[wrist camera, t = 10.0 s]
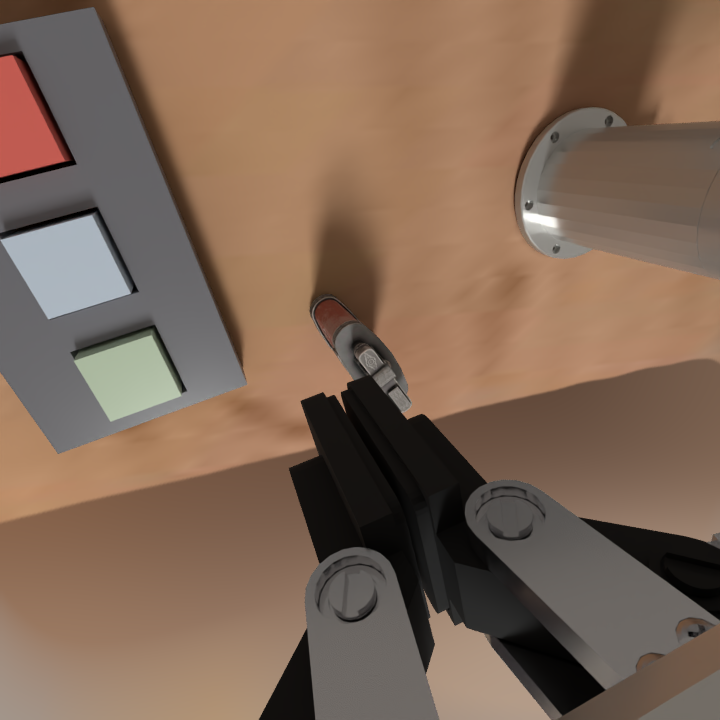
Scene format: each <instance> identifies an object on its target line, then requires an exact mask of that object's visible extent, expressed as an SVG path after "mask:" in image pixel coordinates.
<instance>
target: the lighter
mask: <svg viewBox="0 0 720 720" xmlns="http://www.w3.org/2000/svg"><path fill="white" fill-rule="evenodd" d="M310 315H311V317H312V319H313V321H314V323H315V325H316V327H317V329H318V331H319V332H320V334H321V335H322V337H323V338H324V340H325V341H326V343H327V344H328V345H329V347H330V348H331V349H332V350H333V351H334V353H335V354H336V356H337V357H338V358H339V360H340V361H341V363H342V364H343V366H344V367H345V368H346V370H347V371H348V372H349V374H350V375H351V377H352V378H353V379H354V380H356V379H359V378H362V377H364V376H367V375H371V376H372V378H373V379H374V380H375V381H376V382H377V384H378V385H379V386H380V387H381V388H382V390H383V391H384V392H385V393H386V395H387V396H388V397H389V398H390V399H391V401H392V402H393V403H394V404H395V406H396V407H397V408H398V409H399V410H400V412H401V413H403V412H405V411H407V410H408V409H409V408H410V407H411V405H412V402H411V400H410V399H409V397H408V396H407V395H406V394H407V392H408V384H407V382H406V379H405V377H404V375H403V372H402V370H401V368H400V366H399V364H398V363H397V361H396V359H395V358H394V356H393V354H392V353H391V352H390V351H389V349H388V348H387V347H386V346H385V345H384V343H383V342H382V341H381V340H380V339H379V338H378V337H377V336H376V335H375V334H374V333H373V332H372V331H370V330H369V329H368V328H367V327H366V326H365V325H364V324H363V323H361V322H360V321H359V320H358V319H357V318H356V317H355V315H354V314H353V313H352V312H351V311H350V310H349V309H348V308H347V307H346V306H345V305H344V304H343V303H341V302H340V301H339V300H338V299H337V298H336V297H335V296H333V295H330V294H324V295H321V296H319V297H317V298H316V299H315V300H314V301H313V302H312V304H311V306H310Z"/></svg>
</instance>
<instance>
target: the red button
mask: <svg viewBox="0 0 720 720" xmlns="http://www.w3.org/2000/svg"><path fill="white" fill-rule="evenodd" d="M73 160H75V159H74V157H73V155H72V153H71V151H70V149H69V147H68V144H67V142H66V140H65V138H64V136H63V134H62V132H61V130H60V128H59V126H58V124H57V122H56V120H55V118H54V116H53V114H52V112H51V109H50V107H49V105H48V103H47V101H46V99H45V97H44V95H43V93H42V91H41V89H40V87H39V85H38V83H37V81H36V79H35V77H34V75H33V72H32V70H31V68H30V66H29V64H28V63H26V62H24V61H22V60H21V59H19V58H17V57H15V56H13V55H10V56H5V57H0V179H1V178H5V177H9V176H13V175H17V174H21V173H25V172H29V171H33V170H37V169H41V168H45V167H49V166H53V165H57V164H61V163H65V162H69V161H73Z"/></svg>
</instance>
